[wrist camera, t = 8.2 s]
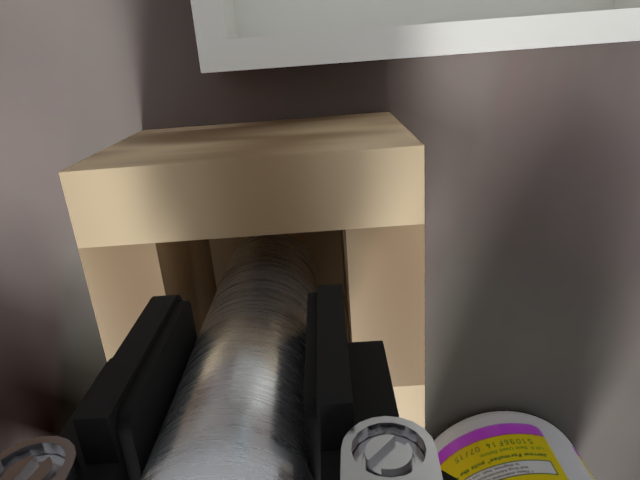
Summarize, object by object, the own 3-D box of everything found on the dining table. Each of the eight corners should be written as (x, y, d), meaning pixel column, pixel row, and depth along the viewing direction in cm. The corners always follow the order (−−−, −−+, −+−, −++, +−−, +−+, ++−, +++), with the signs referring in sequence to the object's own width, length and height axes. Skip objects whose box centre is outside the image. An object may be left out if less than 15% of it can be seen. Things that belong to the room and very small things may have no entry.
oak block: (184, 340, 20) (131, 458, 14) (143, 129, 17) (58, 172, 11) (394, 327, 20) (425, 440, 14) (388, 111, 17) (424, 144, 11)
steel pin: (222, 234, 15) (-86, 852, 4) (313, 228, 15) (298, 837, 3) (233, 315, 16) (20, 1008, 4) (320, 309, 16) (324, 997, 4)
